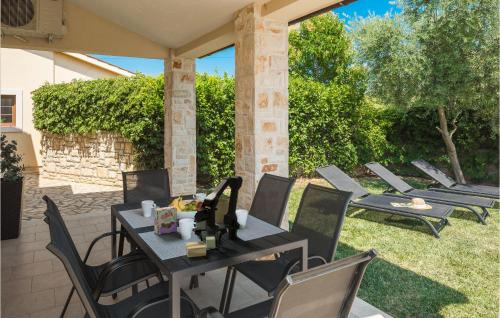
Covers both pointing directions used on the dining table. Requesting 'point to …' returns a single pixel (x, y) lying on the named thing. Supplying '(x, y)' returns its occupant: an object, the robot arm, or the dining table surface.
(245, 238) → the dining table surface
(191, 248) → the oak block
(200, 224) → the grey green cup
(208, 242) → the sage cube
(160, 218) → the candy box
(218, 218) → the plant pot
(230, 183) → the robot arm
